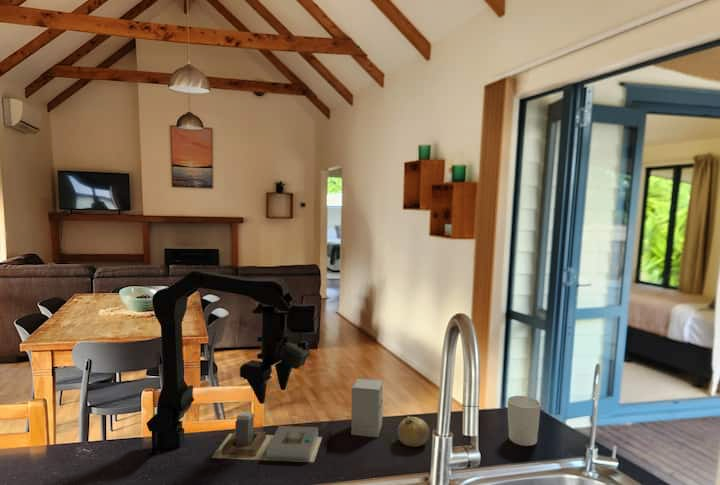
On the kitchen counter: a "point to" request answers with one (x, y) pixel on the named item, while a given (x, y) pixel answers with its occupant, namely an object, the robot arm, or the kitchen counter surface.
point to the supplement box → (366, 407)
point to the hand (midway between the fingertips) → (272, 396)
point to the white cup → (523, 420)
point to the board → (261, 450)
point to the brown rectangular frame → (251, 450)
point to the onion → (413, 431)
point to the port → (292, 451)
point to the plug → (244, 429)
